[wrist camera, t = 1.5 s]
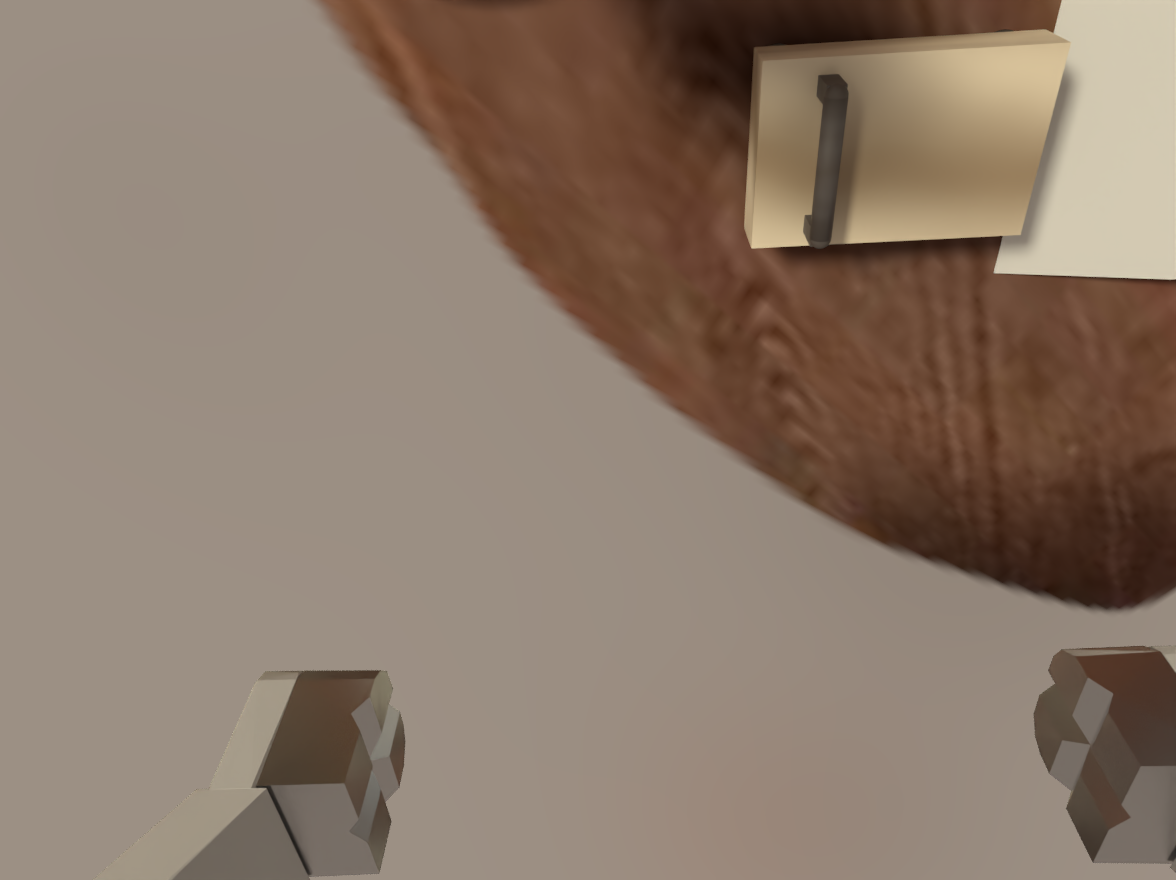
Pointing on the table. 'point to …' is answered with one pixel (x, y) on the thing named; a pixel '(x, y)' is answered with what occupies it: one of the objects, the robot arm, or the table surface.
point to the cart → (898, 137)
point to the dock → (1106, 150)
